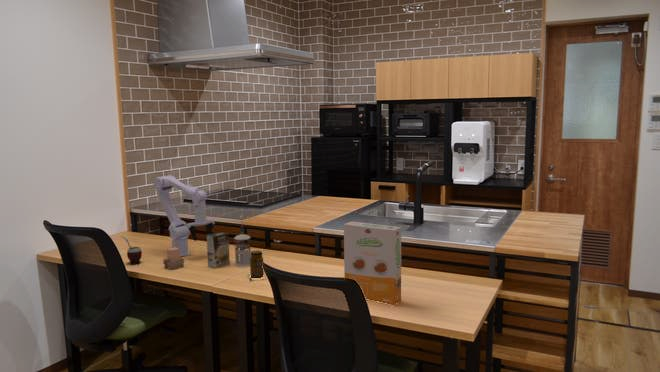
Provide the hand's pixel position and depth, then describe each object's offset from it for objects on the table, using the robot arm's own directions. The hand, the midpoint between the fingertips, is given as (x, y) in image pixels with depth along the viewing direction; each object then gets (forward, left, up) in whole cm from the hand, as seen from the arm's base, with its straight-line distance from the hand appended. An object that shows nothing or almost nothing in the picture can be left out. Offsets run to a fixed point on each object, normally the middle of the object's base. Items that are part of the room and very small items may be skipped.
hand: (201, 239), depth 270 cm
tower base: (+6, -18, -11) cm, 22 cm away
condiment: (+48, +4, -10) cm, 49 cm away
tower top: (+6, -18, -8) cm, 21 cm away
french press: (+24, +10, -10) cm, 28 cm away
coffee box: (+18, 0, -10) cm, 21 cm away
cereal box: (+103, +25, -10) cm, 106 cm away
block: (+6, -18, -6) cm, 20 cm away
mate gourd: (-15, -31, -10) cm, 36 cm away
